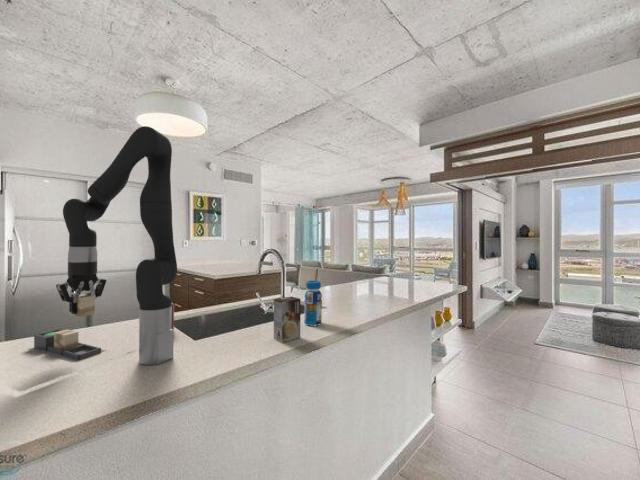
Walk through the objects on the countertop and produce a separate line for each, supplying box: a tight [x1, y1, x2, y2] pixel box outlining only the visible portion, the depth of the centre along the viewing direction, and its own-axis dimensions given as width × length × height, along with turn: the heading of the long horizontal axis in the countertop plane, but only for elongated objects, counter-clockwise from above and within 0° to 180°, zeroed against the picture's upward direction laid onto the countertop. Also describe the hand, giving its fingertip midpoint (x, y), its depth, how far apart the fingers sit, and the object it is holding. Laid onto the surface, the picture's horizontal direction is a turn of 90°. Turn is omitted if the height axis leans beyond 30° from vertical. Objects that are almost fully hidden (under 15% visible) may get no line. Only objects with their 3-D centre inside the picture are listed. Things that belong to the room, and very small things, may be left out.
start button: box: [44, 332, 55, 337], centre depth 102 cm, size 4×4×3 cm
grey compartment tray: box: [27, 328, 107, 363], centre depth 99 cm, size 25×10×6 cm, turn 68°
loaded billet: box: [54, 329, 79, 350], centre depth 99 cm, size 6×4×6 cm, turn 68°
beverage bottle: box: [303, 280, 323, 327], centre depth 136 cm, size 8×8×20 cm
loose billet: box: [69, 293, 96, 318], centre depth 95 cm, size 6×4×6 cm, turn 68°
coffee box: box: [273, 296, 301, 343], centre depth 116 cm, size 9×6×16 cm
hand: (82, 311), depth 95 cm, fingers closed on loose billet, 4 cm apart
